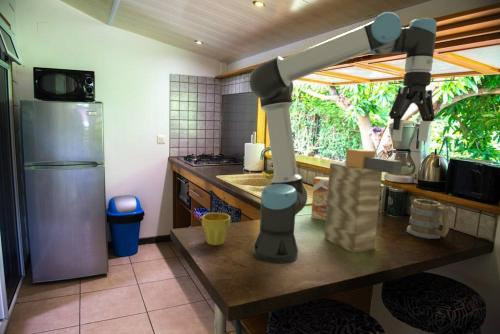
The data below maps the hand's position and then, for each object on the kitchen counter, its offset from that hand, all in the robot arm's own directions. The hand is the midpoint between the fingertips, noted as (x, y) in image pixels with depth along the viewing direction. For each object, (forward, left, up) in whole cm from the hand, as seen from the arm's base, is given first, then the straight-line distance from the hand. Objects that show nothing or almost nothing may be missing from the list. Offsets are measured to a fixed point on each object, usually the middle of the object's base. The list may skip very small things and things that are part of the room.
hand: (409, 141), depth 105 cm
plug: (-11, +3, -11) cm, 16 cm away
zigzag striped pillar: (-18, +7, -41) cm, 45 cm away
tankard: (+7, +38, -41) cm, 56 cm away
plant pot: (-58, -24, -41) cm, 75 cm away
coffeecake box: (-36, +34, -41) cm, 64 cm away
